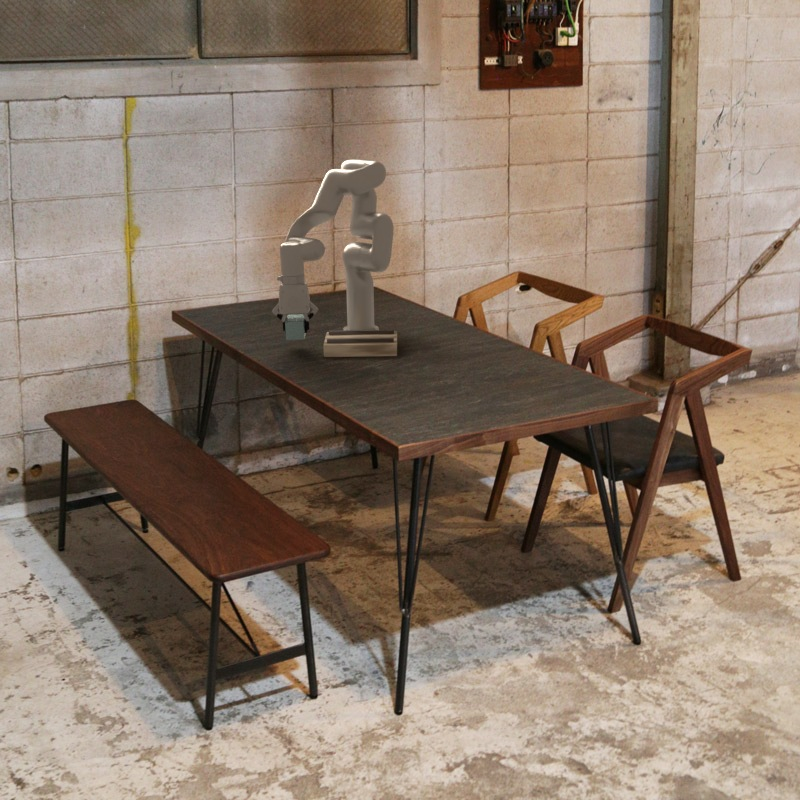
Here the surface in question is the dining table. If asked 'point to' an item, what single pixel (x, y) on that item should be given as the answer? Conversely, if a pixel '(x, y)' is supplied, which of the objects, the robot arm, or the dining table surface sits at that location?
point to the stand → (360, 343)
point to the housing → (295, 327)
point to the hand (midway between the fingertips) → (296, 331)
